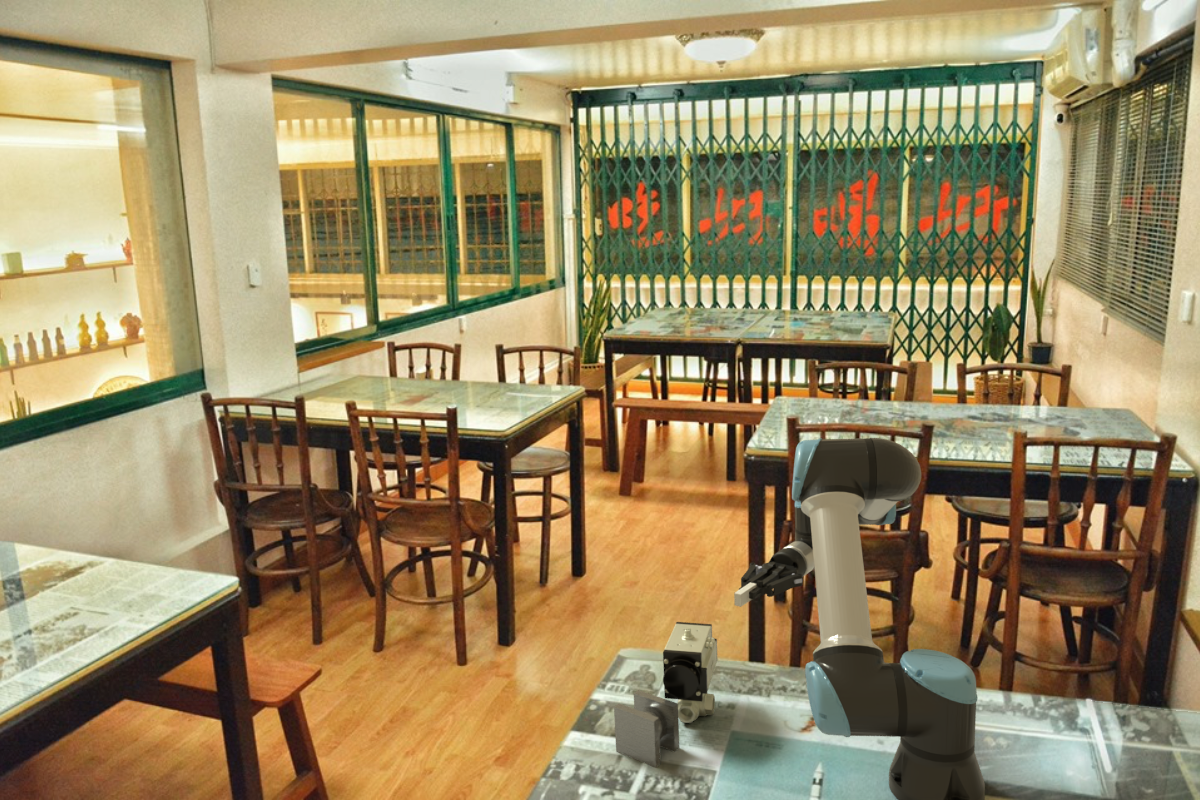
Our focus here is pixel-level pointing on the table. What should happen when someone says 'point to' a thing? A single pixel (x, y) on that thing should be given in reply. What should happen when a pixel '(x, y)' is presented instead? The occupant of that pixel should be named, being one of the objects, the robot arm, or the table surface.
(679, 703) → the ball valve
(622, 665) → the table surface
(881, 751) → the table surface
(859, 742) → the table surface
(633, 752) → the flanged fitting
